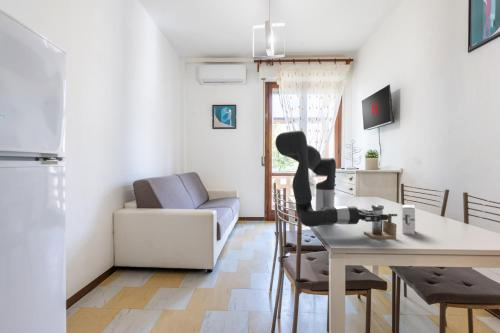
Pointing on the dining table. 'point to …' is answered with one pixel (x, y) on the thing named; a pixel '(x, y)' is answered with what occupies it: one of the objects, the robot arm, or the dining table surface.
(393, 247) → the dining table surface
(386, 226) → the block
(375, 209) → the steel pin
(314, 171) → the robot arm
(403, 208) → the ink box
